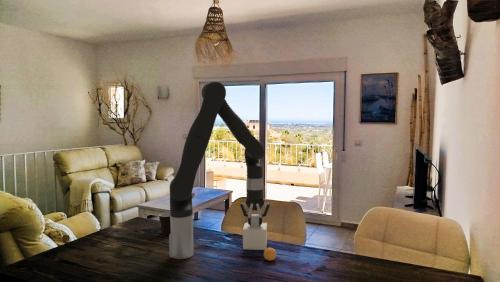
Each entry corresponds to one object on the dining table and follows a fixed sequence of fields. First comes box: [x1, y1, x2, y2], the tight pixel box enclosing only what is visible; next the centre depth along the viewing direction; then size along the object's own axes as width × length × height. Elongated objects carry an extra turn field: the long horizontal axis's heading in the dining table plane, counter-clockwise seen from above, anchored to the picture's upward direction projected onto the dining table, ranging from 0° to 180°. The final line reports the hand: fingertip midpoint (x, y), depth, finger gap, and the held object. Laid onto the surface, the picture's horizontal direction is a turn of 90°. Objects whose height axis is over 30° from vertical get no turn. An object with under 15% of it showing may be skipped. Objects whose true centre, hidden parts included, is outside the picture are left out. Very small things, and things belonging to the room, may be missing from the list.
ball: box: [263, 247, 277, 261], centre depth 136 cm, size 5×5×5 cm
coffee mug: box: [158, 211, 171, 236], centre depth 171 cm, size 12×9×10 cm
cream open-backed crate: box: [242, 213, 268, 251], centre depth 152 cm, size 10×10×14 cm
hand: (255, 225), depth 152 cm, fingers closed on cream open-backed crate, 3 cm apart
